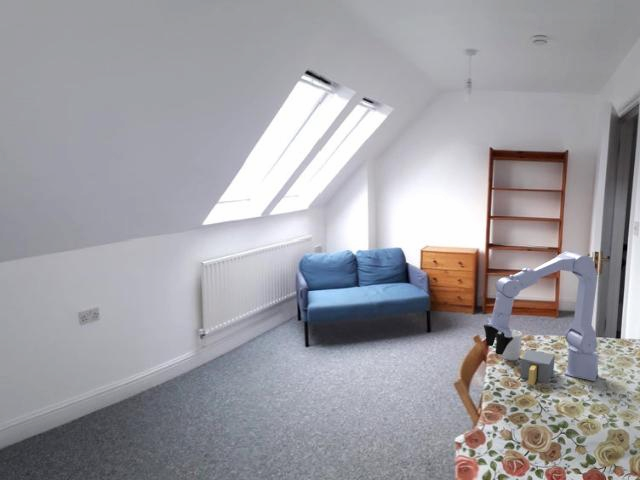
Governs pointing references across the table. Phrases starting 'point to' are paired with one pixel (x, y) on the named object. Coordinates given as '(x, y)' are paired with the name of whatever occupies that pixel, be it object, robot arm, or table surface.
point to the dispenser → (539, 359)
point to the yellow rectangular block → (533, 374)
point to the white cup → (513, 346)
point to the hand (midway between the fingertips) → (493, 349)
